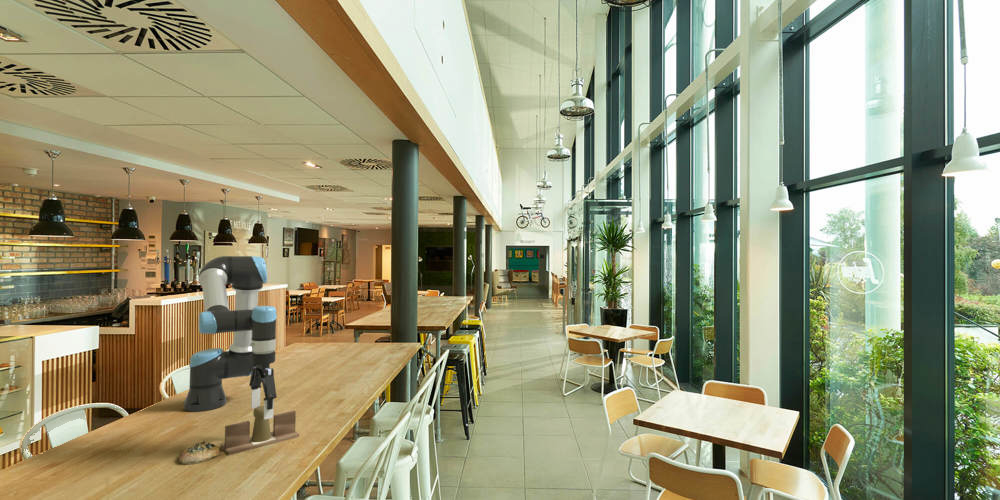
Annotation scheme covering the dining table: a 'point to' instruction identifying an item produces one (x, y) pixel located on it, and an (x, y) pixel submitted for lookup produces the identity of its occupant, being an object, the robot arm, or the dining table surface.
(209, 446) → the bread roll
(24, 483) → the dining table surface
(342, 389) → the dining table surface
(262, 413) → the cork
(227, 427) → the notched board
